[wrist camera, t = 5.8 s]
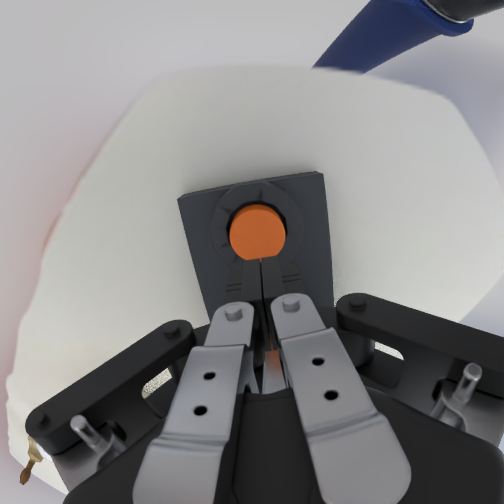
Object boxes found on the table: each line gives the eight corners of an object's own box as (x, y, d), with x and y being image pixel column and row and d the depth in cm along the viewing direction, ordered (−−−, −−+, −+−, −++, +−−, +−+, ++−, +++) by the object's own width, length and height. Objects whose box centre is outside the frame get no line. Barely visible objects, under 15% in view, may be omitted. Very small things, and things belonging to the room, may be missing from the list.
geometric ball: (64, 431, 43) (55, 455, 38) (37, 419, 38) (28, 444, 33) (78, 447, 39) (68, 472, 34) (48, 436, 34) (38, 463, 29)
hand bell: (45, 452, 46) (29, 490, 32) (24, 435, 44) (6, 472, 29) (56, 454, 45) (39, 495, 30) (34, 436, 42) (14, 477, 27)
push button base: (182, 191, 22) (169, 200, 18) (316, 168, 22) (329, 172, 18) (226, 354, 28) (224, 381, 25) (329, 338, 28) (339, 363, 24)
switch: (226, 209, 19) (224, 214, 18) (278, 200, 19) (281, 205, 17) (236, 256, 20) (235, 266, 19) (285, 248, 20) (288, 258, 19)
